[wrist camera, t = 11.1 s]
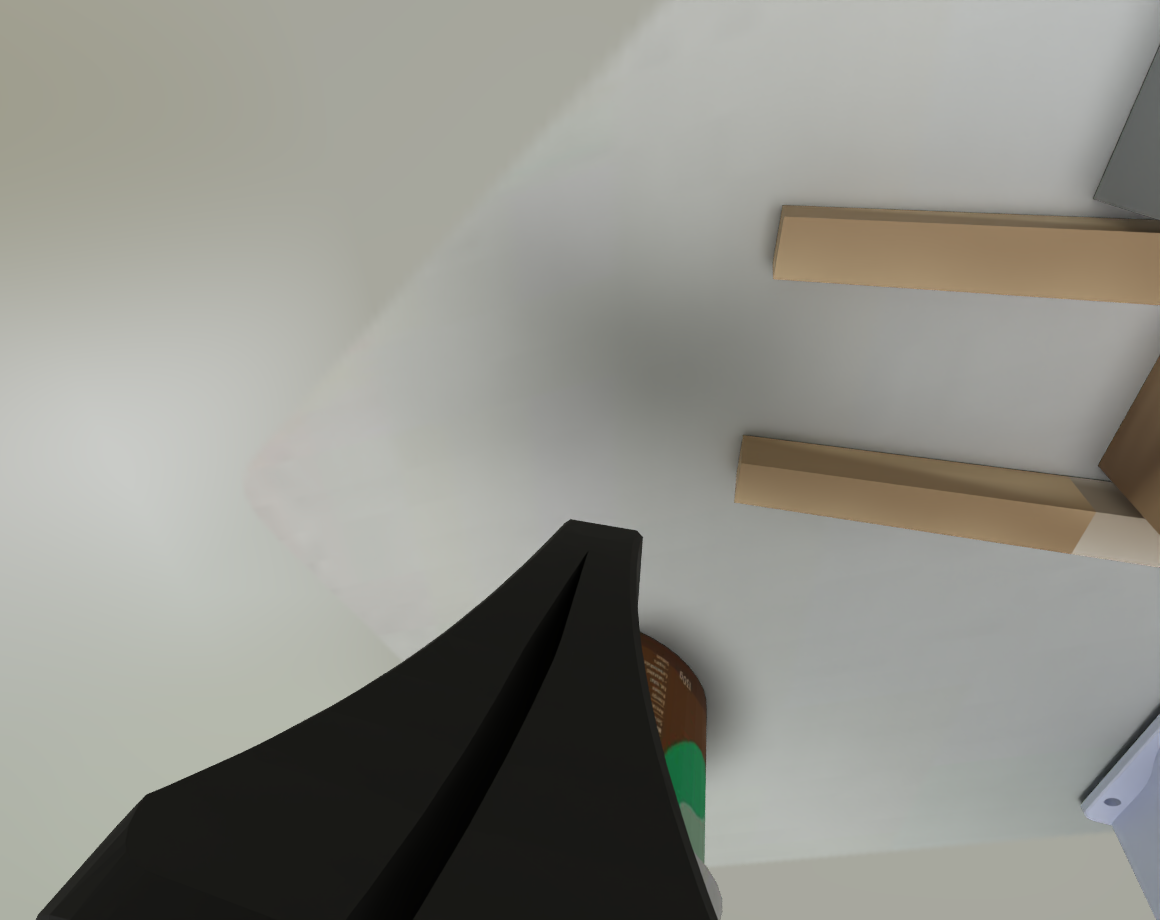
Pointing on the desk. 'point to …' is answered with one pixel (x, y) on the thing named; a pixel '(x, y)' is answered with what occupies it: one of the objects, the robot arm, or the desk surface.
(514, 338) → the desk surface
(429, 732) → the robot arm
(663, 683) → the food container
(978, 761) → the desk surface
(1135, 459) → the block
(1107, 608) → the desk surface
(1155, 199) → the grey housing block
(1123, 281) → the channel
